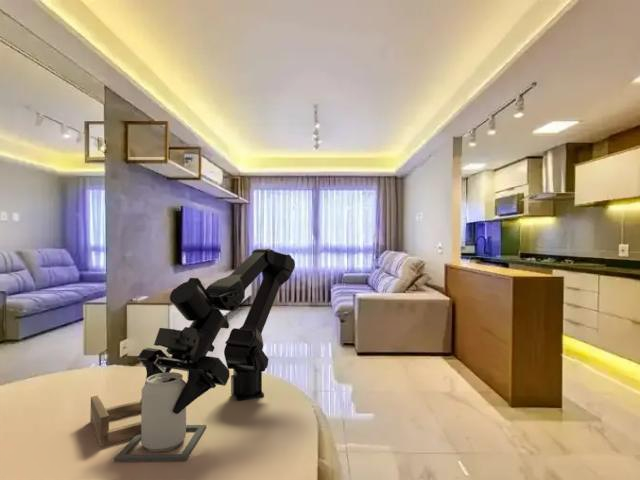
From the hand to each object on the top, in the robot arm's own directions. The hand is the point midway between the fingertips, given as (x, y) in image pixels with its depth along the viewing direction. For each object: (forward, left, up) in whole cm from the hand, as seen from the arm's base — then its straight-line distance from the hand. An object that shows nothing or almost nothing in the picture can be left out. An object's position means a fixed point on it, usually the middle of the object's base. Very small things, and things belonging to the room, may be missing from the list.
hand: (158, 409), depth 69 cm
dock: (+4, -12, -7) cm, 15 cm away
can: (-1, -1, -7) cm, 7 cm away
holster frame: (-1, -1, -7) cm, 7 cm away
